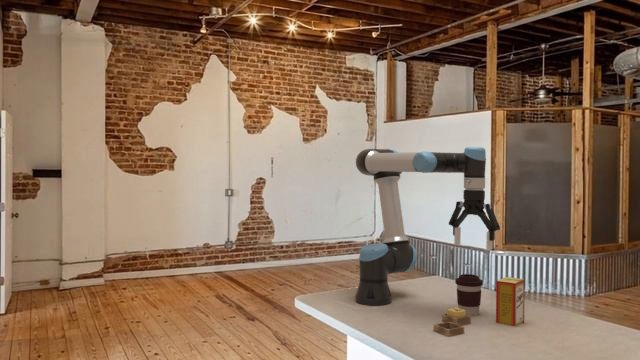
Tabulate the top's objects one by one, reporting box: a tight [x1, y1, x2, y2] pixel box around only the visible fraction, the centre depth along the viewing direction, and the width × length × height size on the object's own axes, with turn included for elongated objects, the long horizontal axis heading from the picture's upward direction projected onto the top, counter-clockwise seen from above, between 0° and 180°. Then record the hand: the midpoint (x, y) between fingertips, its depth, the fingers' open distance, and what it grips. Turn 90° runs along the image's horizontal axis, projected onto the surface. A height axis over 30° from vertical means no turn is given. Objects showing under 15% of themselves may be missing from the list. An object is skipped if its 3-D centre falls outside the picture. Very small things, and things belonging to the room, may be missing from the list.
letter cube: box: [446, 307, 466, 319], centre depth 183 cm, size 4×4×5 cm
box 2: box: [433, 322, 465, 337], centre depth 172 cm, size 7×7×3 cm
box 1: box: [441, 313, 472, 326], centre depth 183 cm, size 7×7×3 cm
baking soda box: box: [495, 276, 526, 327], centre depth 185 cm, size 10×6×16 cm
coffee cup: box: [454, 273, 484, 317], centre depth 195 cm, size 10×10×15 cm
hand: (472, 247), depth 191 cm, fingers open, 13 cm apart
